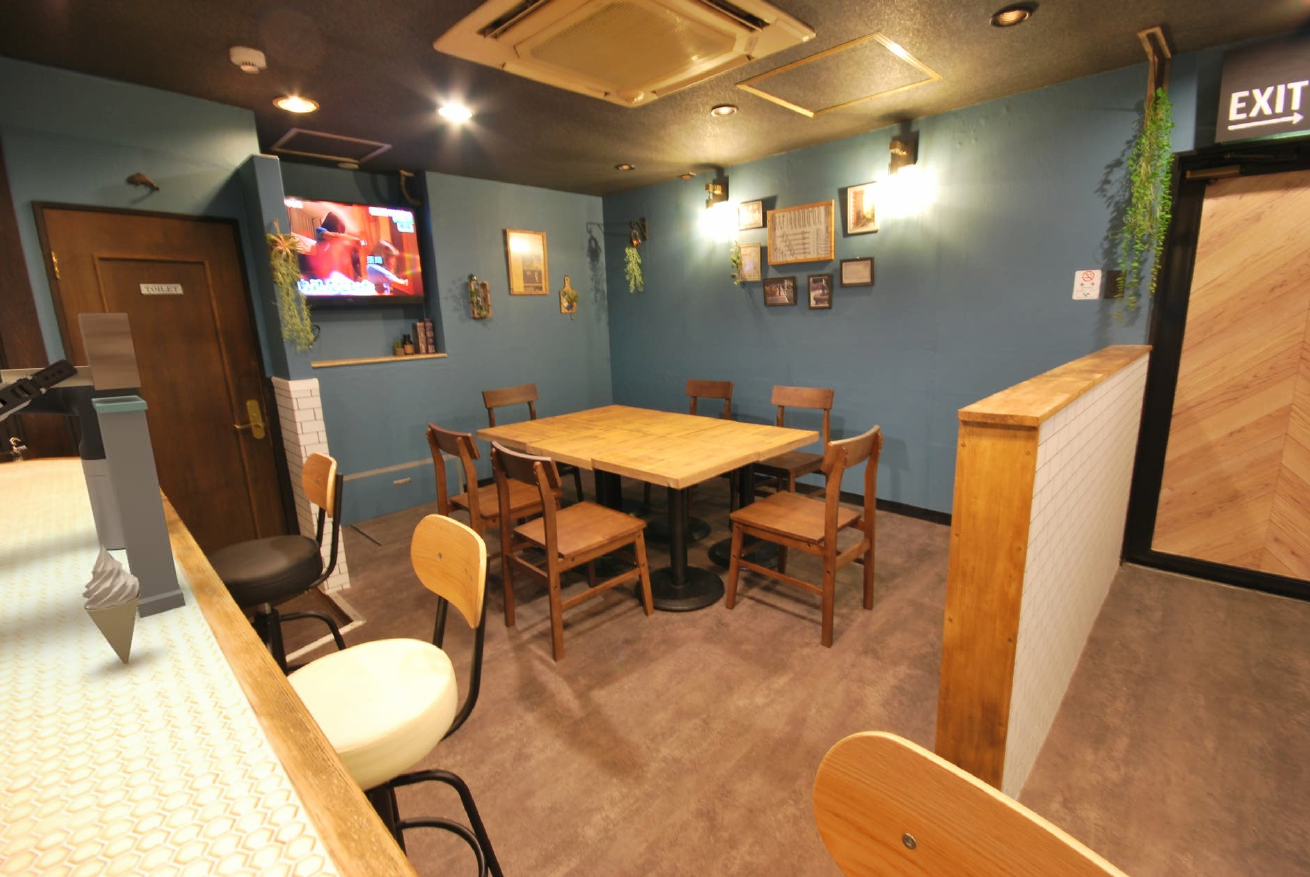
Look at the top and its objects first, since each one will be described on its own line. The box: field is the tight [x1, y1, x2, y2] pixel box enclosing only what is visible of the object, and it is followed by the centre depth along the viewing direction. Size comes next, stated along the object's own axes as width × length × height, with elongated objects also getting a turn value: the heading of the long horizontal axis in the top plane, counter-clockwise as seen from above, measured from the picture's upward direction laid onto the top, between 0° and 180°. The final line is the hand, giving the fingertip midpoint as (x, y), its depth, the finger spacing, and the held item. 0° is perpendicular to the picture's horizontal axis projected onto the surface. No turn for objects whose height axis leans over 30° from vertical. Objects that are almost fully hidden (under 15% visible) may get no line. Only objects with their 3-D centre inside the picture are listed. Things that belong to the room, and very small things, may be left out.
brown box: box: [0, 312, 142, 390], centre depth 78 cm, size 10×13×10 cm
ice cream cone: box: [81, 545, 140, 664], centre depth 69 cm, size 5×5×15 cm
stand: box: [92, 396, 186, 619], centre depth 85 cm, size 14×5×30 cm, turn 46°
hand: (71, 365), depth 79 cm, fingers closed on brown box, 3 cm apart
